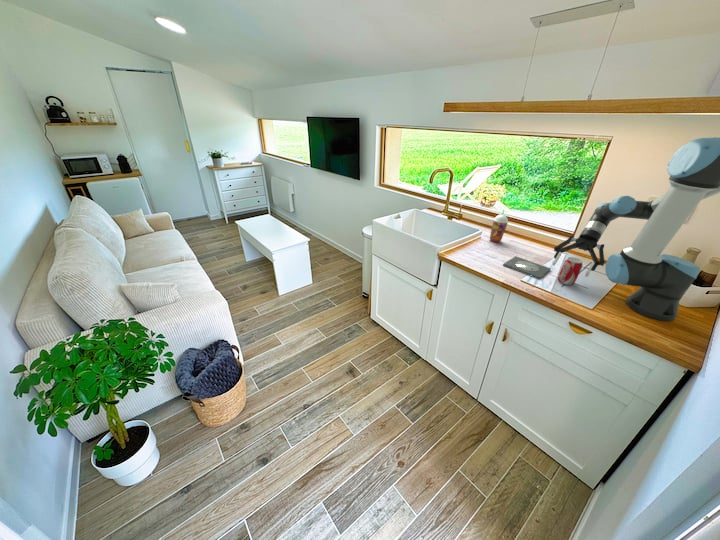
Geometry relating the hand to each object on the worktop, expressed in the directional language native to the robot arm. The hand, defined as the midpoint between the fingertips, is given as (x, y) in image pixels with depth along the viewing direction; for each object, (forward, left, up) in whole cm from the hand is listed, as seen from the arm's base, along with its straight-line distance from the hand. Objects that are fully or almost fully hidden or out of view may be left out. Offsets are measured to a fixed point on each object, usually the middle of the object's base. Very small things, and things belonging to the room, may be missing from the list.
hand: (569, 269), depth 131 cm
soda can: (-1, +1, -7) cm, 7 cm away
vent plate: (+17, 0, -6) cm, 19 cm away
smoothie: (+45, -22, -7) cm, 51 cm away
